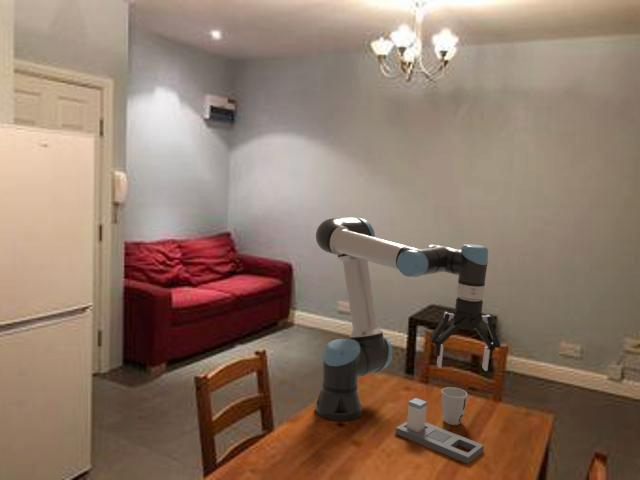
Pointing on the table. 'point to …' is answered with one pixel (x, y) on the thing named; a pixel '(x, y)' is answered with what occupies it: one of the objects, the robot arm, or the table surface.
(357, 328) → the robot arm
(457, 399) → the cup
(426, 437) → the panel
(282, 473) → the table surface
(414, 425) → the plug
